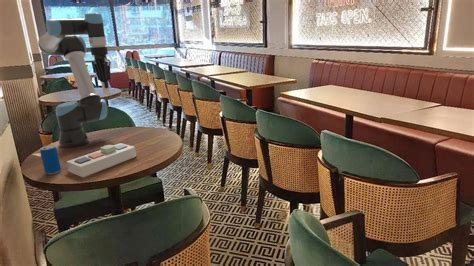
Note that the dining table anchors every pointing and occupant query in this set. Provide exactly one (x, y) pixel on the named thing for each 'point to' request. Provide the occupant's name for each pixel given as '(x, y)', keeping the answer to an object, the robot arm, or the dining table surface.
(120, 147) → the slate key
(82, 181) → the dining table surface
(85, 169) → the keypad
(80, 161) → the charcoal key
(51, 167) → the beverage can
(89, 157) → the terracotta key
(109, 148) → the sage key
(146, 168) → the dining table surface
